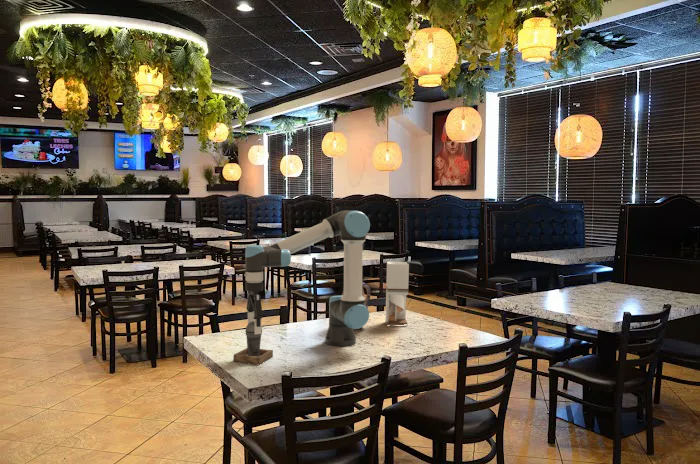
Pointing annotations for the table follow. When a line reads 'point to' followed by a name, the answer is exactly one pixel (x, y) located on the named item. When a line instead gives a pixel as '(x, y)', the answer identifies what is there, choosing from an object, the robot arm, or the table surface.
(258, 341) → the beverage cup
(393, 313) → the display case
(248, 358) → the wooden tray
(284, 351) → the table surface
